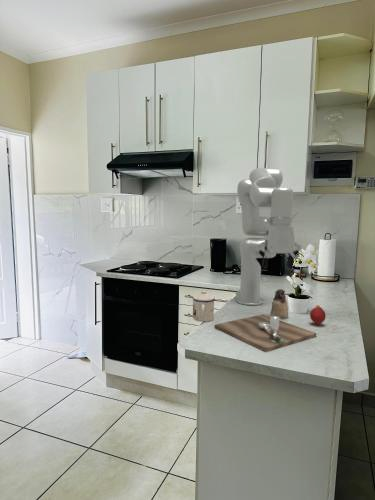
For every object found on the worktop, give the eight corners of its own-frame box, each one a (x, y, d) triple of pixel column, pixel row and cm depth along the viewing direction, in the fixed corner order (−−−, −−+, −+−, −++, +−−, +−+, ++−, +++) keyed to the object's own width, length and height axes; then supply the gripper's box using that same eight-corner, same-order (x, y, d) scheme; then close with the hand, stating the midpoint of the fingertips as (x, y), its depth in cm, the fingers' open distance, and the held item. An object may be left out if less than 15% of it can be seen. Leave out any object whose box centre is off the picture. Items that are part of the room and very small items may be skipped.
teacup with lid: (192, 314, 144) (193, 288, 143) (214, 315, 144) (215, 288, 142) (190, 324, 133) (191, 294, 131) (214, 325, 132) (214, 295, 130)
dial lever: (257, 325, 127) (258, 307, 126) (267, 325, 127) (268, 307, 127) (273, 341, 112) (274, 321, 111) (284, 341, 112) (285, 320, 112)
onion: (312, 321, 139) (313, 302, 138) (326, 324, 136) (328, 304, 135) (307, 324, 135) (308, 305, 134) (322, 328, 131) (323, 308, 130)
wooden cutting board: (262, 317, 143) (262, 313, 143) (316, 336, 122) (316, 332, 122) (214, 327, 129) (214, 324, 129) (265, 352, 107) (266, 347, 107)
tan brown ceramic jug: (283, 313, 149) (284, 286, 148) (290, 318, 142) (292, 290, 141) (268, 314, 148) (269, 287, 146) (274, 319, 141) (276, 291, 139)
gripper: (261, 222, 119) (259, 270, 122) (307, 223, 122) (303, 269, 124) (254, 221, 126) (251, 266, 129) (297, 221, 129) (294, 265, 132)
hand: (277, 267), depth 127 cm, fingers open, 9 cm apart
